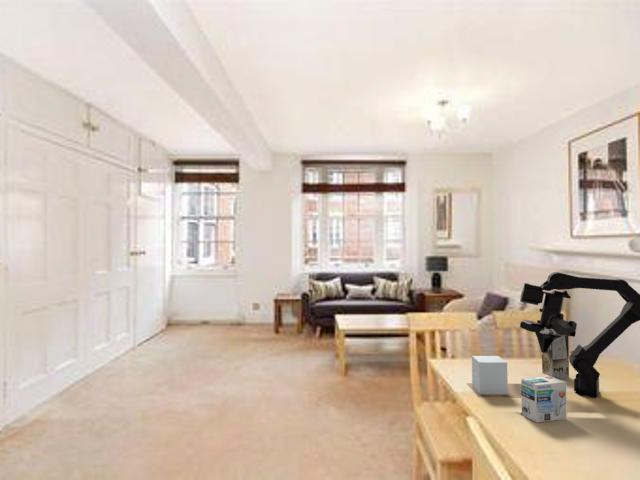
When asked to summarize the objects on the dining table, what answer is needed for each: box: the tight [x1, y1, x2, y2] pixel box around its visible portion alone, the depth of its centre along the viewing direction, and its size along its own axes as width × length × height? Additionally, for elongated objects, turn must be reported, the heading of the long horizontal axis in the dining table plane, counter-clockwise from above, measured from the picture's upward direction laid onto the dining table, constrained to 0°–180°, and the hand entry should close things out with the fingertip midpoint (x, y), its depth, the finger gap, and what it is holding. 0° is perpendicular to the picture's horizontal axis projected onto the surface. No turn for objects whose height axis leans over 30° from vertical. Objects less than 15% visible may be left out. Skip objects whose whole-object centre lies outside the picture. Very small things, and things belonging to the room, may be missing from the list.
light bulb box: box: [520, 375, 567, 423], centre depth 135 cm, size 11×7×11 cm, turn 105°
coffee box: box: [541, 335, 570, 380], centre depth 178 cm, size 9×6×16 cm
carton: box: [471, 355, 509, 395], centre depth 156 cm, size 9×9×10 cm
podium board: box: [466, 382, 522, 399], centre depth 156 cm, size 20×15×1 cm
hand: (543, 352), depth 159 cm, fingers closed
